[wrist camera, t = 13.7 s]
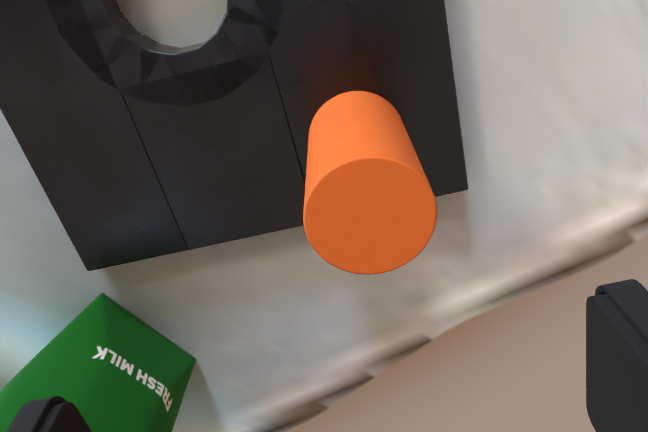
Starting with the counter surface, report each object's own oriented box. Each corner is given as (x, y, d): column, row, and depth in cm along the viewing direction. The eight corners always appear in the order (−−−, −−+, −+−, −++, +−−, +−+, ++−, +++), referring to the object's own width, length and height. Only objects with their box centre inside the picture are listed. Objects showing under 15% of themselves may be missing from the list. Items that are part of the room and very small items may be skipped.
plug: (321, 190, 26) (321, 286, 19) (297, 103, 24) (286, 174, 17) (411, 170, 25) (446, 261, 18) (394, 79, 23) (426, 142, 16)
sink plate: (98, 256, 29) (87, 272, 28) (-97, -118, 21) (-125, -122, 20) (461, 177, 27) (468, 190, 26) (401, -274, 19) (407, -290, 18)
